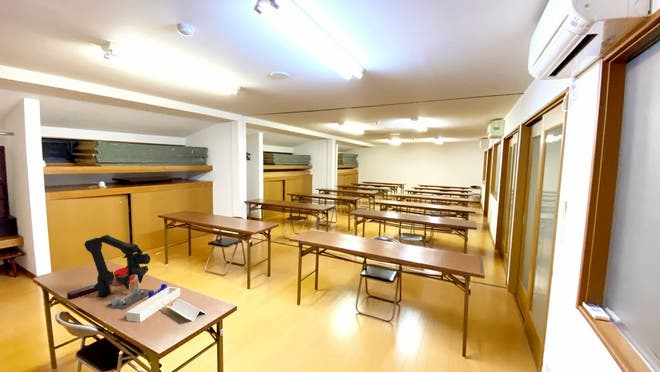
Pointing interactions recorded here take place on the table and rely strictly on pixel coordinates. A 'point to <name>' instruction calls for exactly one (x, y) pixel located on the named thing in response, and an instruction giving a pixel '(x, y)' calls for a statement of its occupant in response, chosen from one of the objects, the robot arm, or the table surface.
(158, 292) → the cable clip
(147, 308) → the block frame
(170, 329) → the table surface
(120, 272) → the ceramic cup
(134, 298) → the plate
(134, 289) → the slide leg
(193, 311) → the z bracket
